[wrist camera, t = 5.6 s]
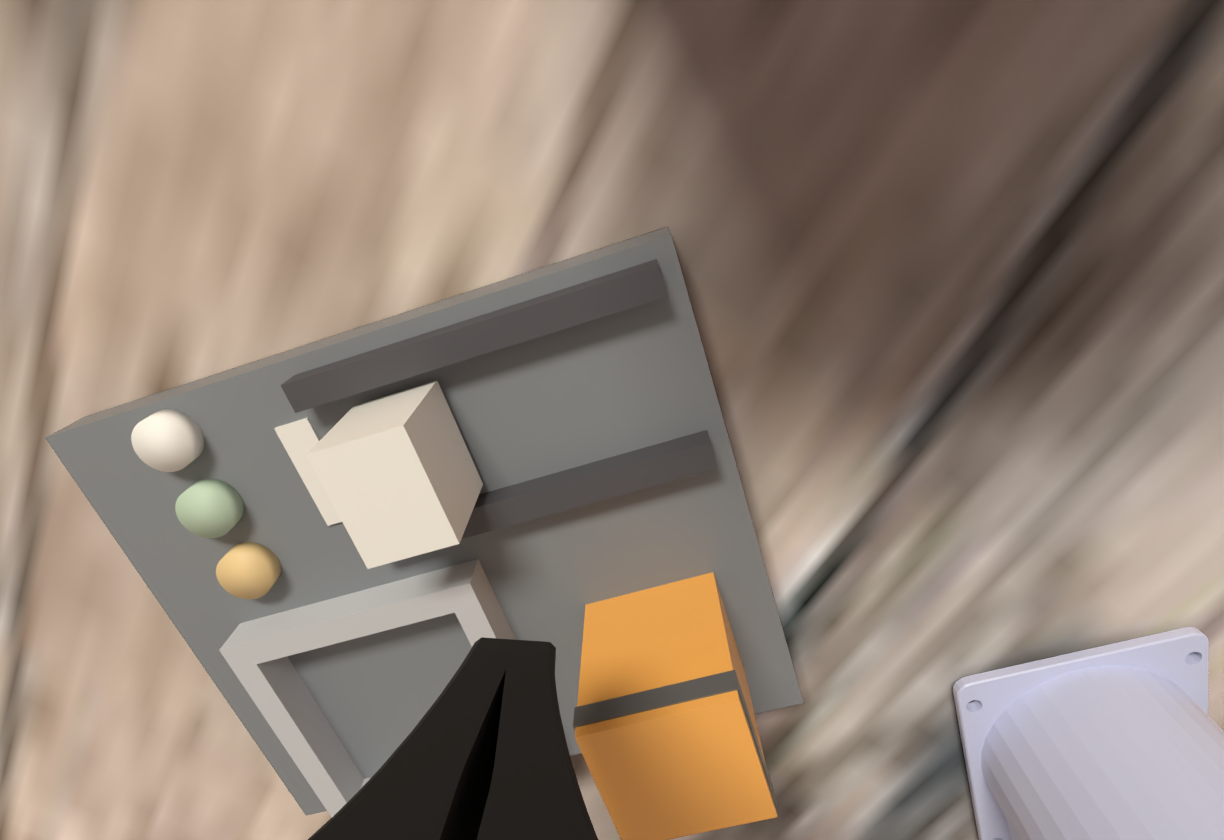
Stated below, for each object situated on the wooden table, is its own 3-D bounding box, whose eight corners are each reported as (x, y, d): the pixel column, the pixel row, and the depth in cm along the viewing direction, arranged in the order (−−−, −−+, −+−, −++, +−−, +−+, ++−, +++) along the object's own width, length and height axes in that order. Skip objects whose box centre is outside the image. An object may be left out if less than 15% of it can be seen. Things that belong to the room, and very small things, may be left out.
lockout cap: (747, 674, 22) (780, 818, 17) (624, 702, 23) (623, 850, 18) (714, 570, 21) (740, 697, 16) (583, 604, 21) (571, 736, 16)
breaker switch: (483, 484, 19) (459, 544, 16) (404, 506, 20) (367, 569, 17) (437, 380, 18) (403, 425, 15) (353, 406, 18) (306, 454, 16)
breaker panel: (793, 669, 24) (812, 732, 21) (323, 779, 26) (291, 847, 24) (668, 226, 18) (674, 241, 16) (83, 417, 21) (9, 456, 18)
